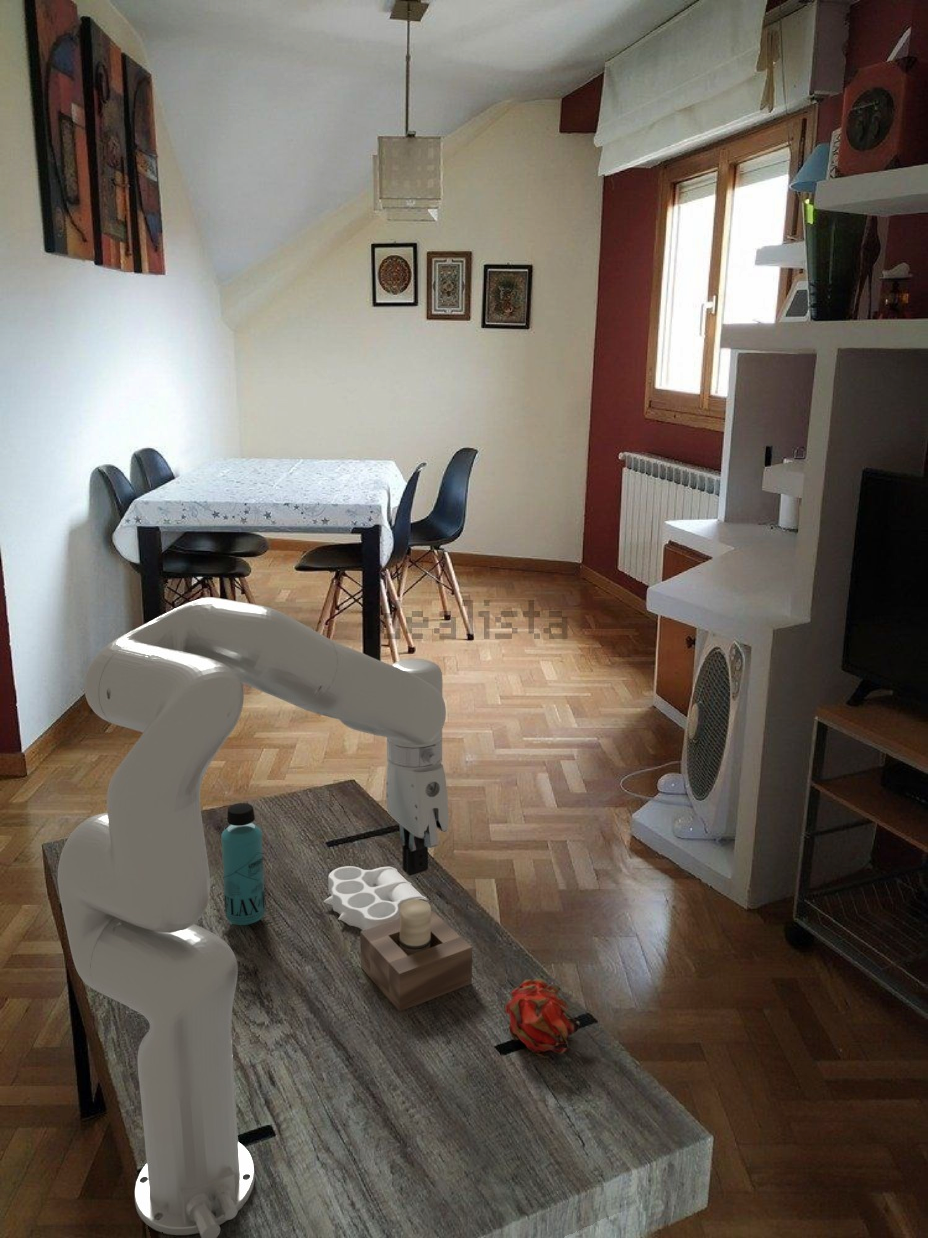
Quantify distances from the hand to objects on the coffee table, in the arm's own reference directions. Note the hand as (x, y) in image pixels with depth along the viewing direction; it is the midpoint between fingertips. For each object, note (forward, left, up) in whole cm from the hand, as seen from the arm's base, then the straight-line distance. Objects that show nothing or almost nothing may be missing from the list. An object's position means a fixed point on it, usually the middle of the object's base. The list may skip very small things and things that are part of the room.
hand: (415, 870), depth 140 cm
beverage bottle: (+26, +16, -17) cm, 35 cm away
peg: (0, 0, -16) cm, 16 cm away
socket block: (0, 0, -17) cm, 17 cm away
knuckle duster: (+20, -3, -18) cm, 27 cm away
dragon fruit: (-21, -7, -17) cm, 28 cm away
